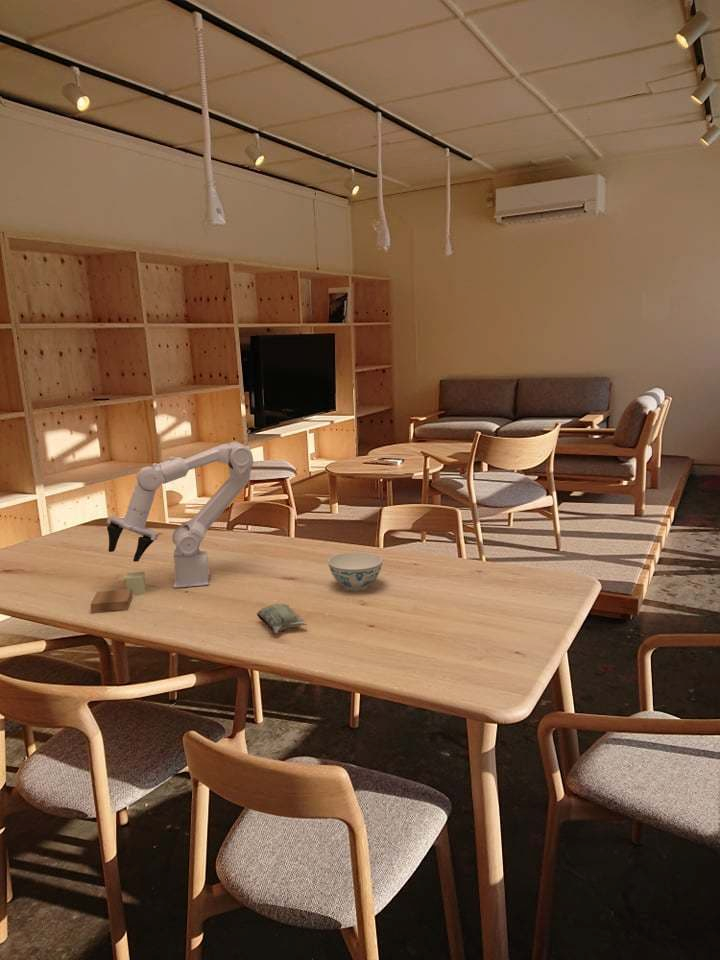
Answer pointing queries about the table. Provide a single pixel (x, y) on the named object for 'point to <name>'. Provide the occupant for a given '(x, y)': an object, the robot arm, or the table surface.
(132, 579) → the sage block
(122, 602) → the walnut box
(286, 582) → the table surface
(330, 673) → the table surface
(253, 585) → the table surface
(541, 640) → the table surface
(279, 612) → the packaged food
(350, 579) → the chinaware
